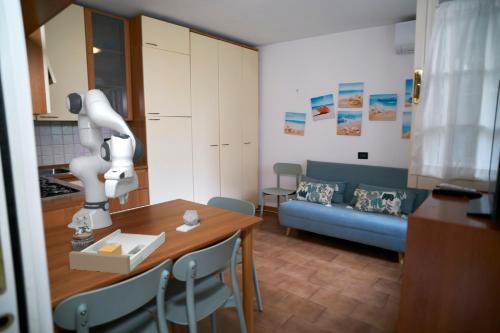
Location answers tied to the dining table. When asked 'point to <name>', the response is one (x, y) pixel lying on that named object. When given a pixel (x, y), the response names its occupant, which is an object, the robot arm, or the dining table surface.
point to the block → (111, 249)
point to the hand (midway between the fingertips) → (123, 203)
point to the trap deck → (132, 255)
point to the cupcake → (82, 238)
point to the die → (191, 217)
